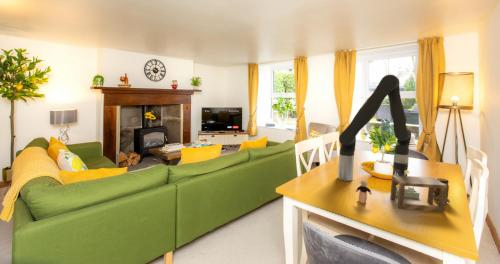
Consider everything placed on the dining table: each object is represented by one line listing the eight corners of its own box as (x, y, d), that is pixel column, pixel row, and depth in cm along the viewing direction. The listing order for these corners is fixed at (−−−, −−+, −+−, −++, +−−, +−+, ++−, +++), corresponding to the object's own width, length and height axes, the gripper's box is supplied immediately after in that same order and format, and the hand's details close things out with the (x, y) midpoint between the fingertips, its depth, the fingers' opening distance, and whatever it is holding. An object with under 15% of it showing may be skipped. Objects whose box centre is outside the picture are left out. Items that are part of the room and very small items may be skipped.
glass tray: (395, 196, 138) (396, 188, 138) (391, 192, 144) (392, 184, 144) (419, 198, 136) (419, 189, 135) (414, 194, 142) (414, 185, 141)
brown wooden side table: (398, 208, 124) (401, 182, 122) (390, 199, 135) (392, 175, 133) (443, 212, 120) (446, 185, 118) (431, 201, 131) (433, 177, 130)
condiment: (431, 201, 132) (433, 179, 131) (432, 196, 139) (435, 176, 137) (448, 205, 128) (451, 182, 126) (449, 199, 134) (451, 178, 132)
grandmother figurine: (354, 203, 130) (356, 180, 129) (355, 200, 134) (356, 177, 132) (371, 205, 127) (372, 182, 126) (370, 202, 131) (372, 179, 129)
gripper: (389, 158, 155) (387, 182, 157) (398, 164, 141) (396, 191, 143) (402, 158, 153) (400, 183, 156) (413, 164, 140) (410, 192, 142)
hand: (398, 187), depth 149 cm, fingers open, 8 cm apart
